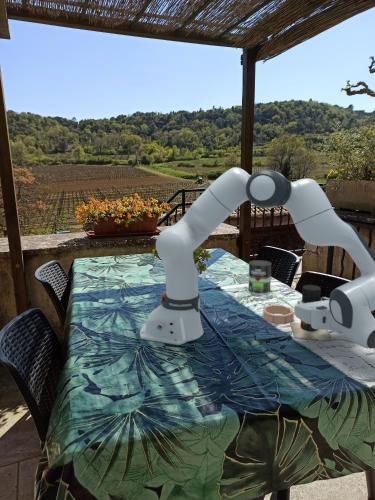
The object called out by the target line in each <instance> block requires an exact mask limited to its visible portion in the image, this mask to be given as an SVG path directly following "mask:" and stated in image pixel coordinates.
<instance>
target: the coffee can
mask: <svg viewBox="0 0 375 500" xmlns="http://www.w3.org/2000/svg"><path fill="white" fill-rule="evenodd" d="M271 276H272V262H270V261H268V260H263V259H262V260H260V259H257V260H256V259H255V260H254V259H253V260H250V261H249V262H248V293H250V294H252V295H257V296H265V295H266V296H267V295H269V294H270V293H271V278H272V277H271Z"/></svg>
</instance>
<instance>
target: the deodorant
mask: <svg viewBox="0 0 375 500" xmlns="http://www.w3.org/2000/svg"><path fill="white" fill-rule="evenodd" d="M321 290H322V288H321V286H318V285H313V284H304V285H303V286H302V292H301V300H302V301H304V303H310V302H317V301H321ZM300 323H301V329H303V330H305V331H317V330H318V329H313V328H312V327H311V324H307V323H305V322H303V321H302V320H300Z"/></svg>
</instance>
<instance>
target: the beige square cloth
mask: <svg viewBox="0 0 375 500" xmlns="http://www.w3.org/2000/svg"><path fill="white" fill-rule="evenodd" d="M289 324H290V328H291V332H292V335H293V339H295V340H297V339H298V340H311V339H318V340H317V341H329V340H332V341H333V338H332V336H331V334H330V332H329V330H325V329H318V330H317V331H305V330H303V329H301V322H294V321H291V322H289Z"/></svg>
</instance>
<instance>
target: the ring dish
mask: <svg viewBox="0 0 375 500" xmlns="http://www.w3.org/2000/svg"><path fill="white" fill-rule="evenodd" d="M262 309H263V310H262V315H263V316H262V318H263V320H264V321H267V322H269V323H271V324H280V325H282V324H283V325H285V324H290V322H294V318H295V317H294V316H295V314H294V309H293V308H291V307H290V306H287V305H283V304H282V305H281V304H269V305H266V306H263V308H262Z"/></svg>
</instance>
